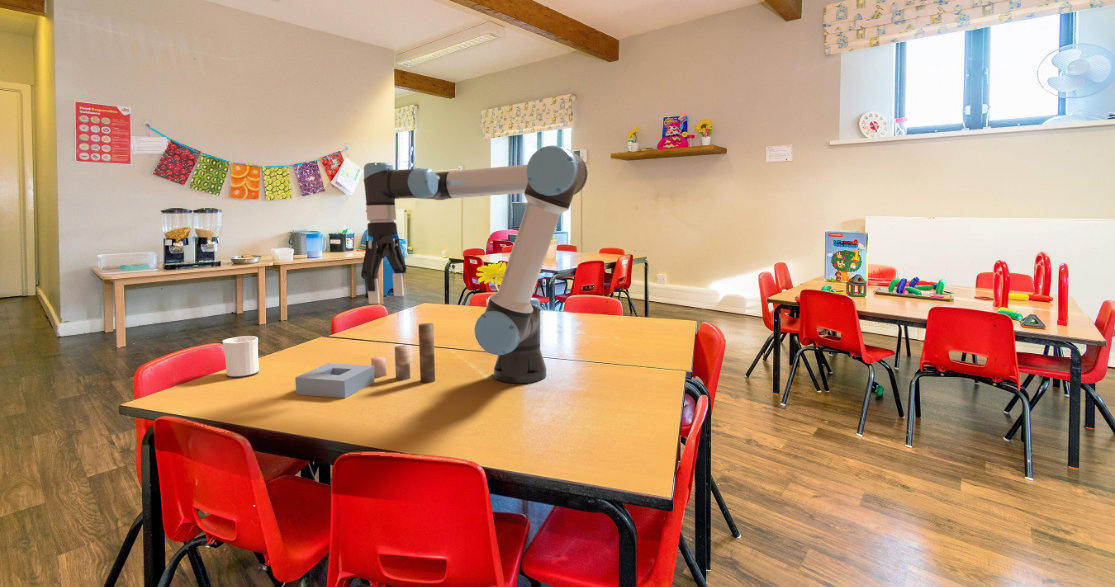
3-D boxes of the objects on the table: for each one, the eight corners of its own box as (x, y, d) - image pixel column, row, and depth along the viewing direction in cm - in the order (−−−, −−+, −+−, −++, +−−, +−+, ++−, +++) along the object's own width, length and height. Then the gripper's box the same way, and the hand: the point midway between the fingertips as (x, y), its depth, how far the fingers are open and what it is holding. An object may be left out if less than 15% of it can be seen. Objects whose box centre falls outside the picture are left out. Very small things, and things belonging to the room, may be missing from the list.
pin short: (389, 373, 158) (388, 357, 158) (382, 377, 155) (381, 360, 154) (376, 372, 159) (375, 356, 159) (369, 376, 155) (368, 359, 155)
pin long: (437, 379, 153) (435, 323, 151) (431, 383, 149) (429, 326, 147) (424, 378, 154) (422, 322, 152) (417, 382, 150) (415, 325, 148)
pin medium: (412, 376, 156) (411, 345, 155) (406, 380, 152) (405, 349, 151) (400, 375, 157) (398, 345, 155) (393, 379, 153) (391, 348, 152)
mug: (266, 372, 159) (264, 338, 157) (235, 380, 151) (232, 344, 150) (246, 367, 165) (244, 334, 163) (215, 374, 157) (212, 339, 156)
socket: (374, 381, 151) (373, 366, 150) (345, 398, 137) (344, 380, 136) (329, 378, 153) (328, 363, 153) (296, 394, 140) (295, 377, 139)
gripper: (391, 221, 159) (396, 293, 162) (342, 222, 135) (349, 306, 138) (415, 221, 158) (419, 293, 161) (370, 221, 133) (376, 306, 136)
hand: (387, 299), depth 149 cm, fingers open, 13 cm apart
